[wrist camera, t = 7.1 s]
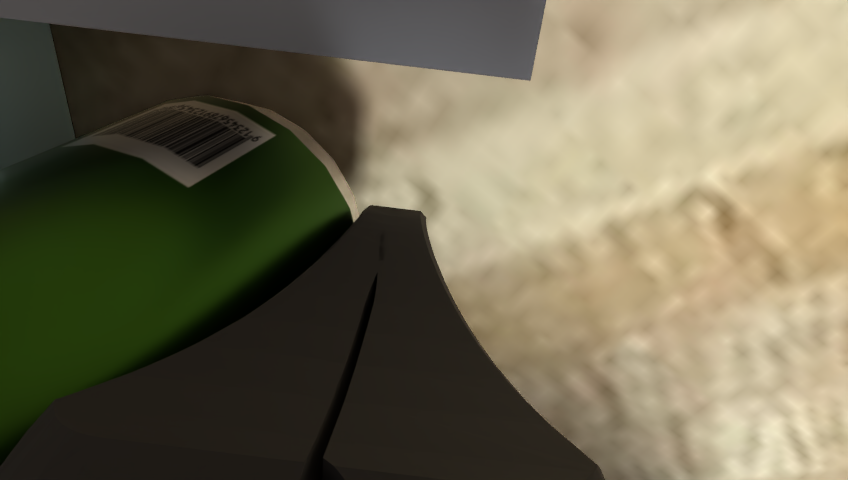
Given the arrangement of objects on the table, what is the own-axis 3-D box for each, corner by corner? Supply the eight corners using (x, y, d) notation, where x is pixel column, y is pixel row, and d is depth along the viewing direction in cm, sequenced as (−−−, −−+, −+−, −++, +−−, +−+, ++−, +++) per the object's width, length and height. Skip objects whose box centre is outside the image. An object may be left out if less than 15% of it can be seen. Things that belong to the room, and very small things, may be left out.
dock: (458, 379, 16) (455, 461, 14) (74, 333, 16) (14, 407, 14) (532, -38, 10) (547, -6, 8) (-49, -106, 10) (-180, -92, 8)
